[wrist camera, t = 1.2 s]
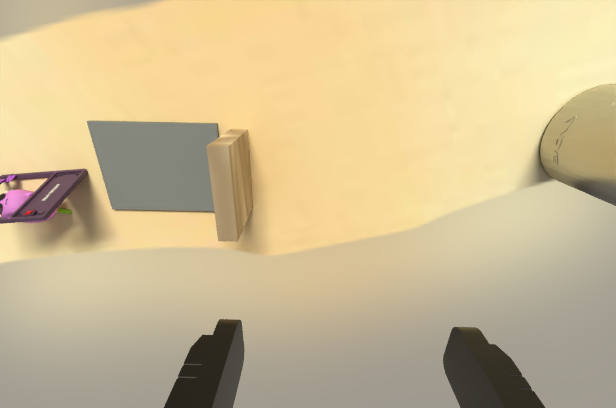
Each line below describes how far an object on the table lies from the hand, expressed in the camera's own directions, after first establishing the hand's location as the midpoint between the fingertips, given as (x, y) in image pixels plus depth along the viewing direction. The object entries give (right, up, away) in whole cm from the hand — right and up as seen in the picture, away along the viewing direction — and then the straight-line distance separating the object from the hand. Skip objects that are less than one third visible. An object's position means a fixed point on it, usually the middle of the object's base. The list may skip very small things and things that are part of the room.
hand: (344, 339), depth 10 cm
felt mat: (-16, +8, +18) cm, 25 cm away
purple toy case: (-28, +6, +20) cm, 35 cm away
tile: (-8, +8, +18) cm, 22 cm away
